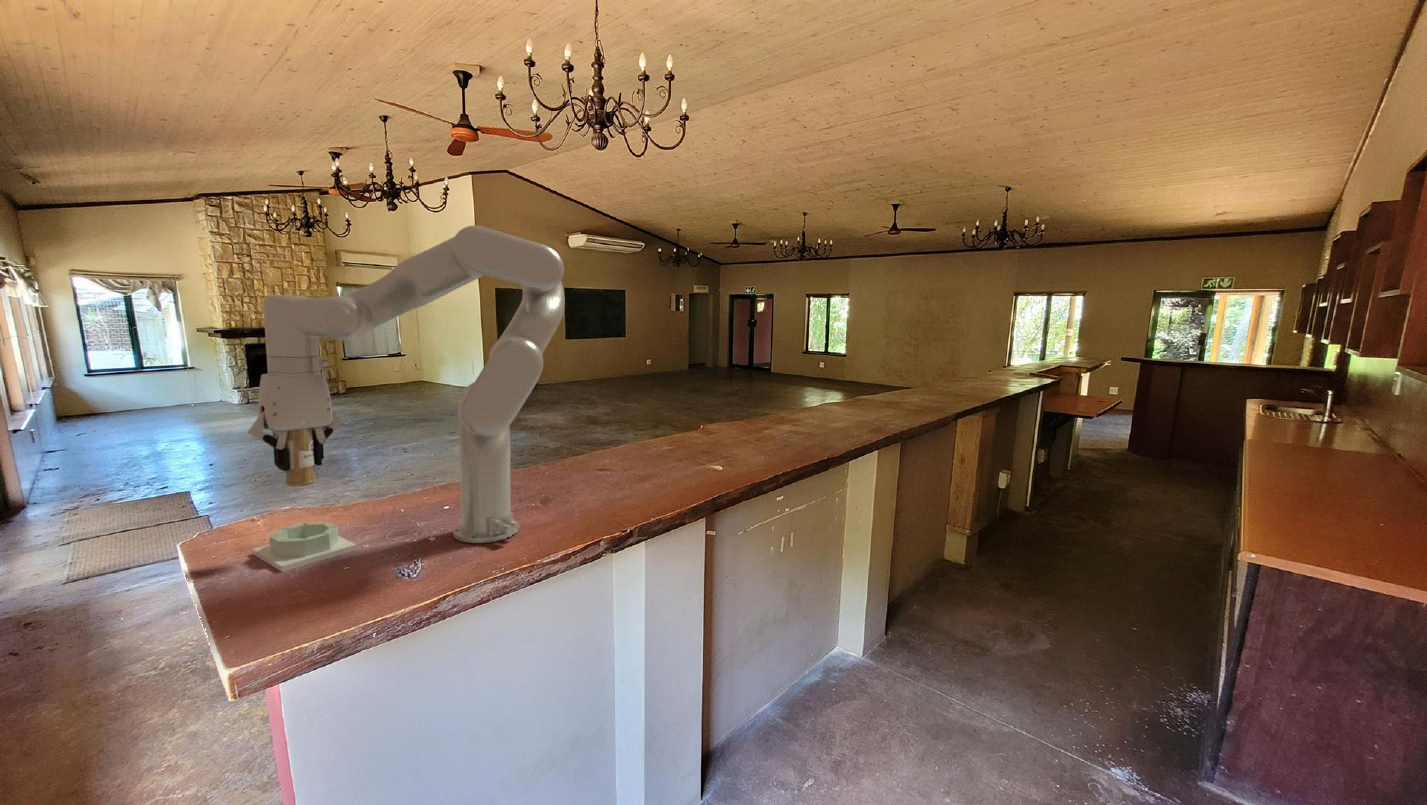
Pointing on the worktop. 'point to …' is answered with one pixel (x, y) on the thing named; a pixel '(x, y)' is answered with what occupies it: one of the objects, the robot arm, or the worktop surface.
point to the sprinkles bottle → (300, 457)
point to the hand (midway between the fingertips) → (300, 465)
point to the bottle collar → (303, 545)
